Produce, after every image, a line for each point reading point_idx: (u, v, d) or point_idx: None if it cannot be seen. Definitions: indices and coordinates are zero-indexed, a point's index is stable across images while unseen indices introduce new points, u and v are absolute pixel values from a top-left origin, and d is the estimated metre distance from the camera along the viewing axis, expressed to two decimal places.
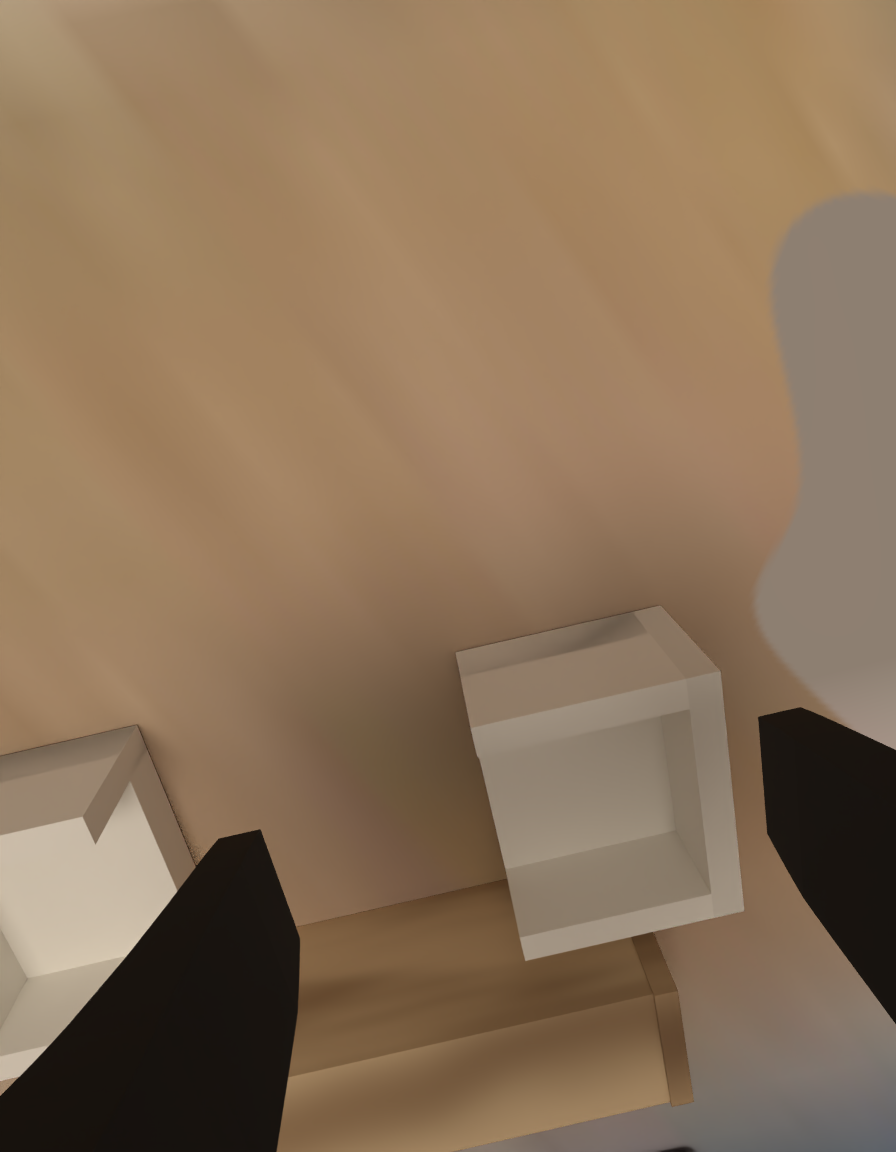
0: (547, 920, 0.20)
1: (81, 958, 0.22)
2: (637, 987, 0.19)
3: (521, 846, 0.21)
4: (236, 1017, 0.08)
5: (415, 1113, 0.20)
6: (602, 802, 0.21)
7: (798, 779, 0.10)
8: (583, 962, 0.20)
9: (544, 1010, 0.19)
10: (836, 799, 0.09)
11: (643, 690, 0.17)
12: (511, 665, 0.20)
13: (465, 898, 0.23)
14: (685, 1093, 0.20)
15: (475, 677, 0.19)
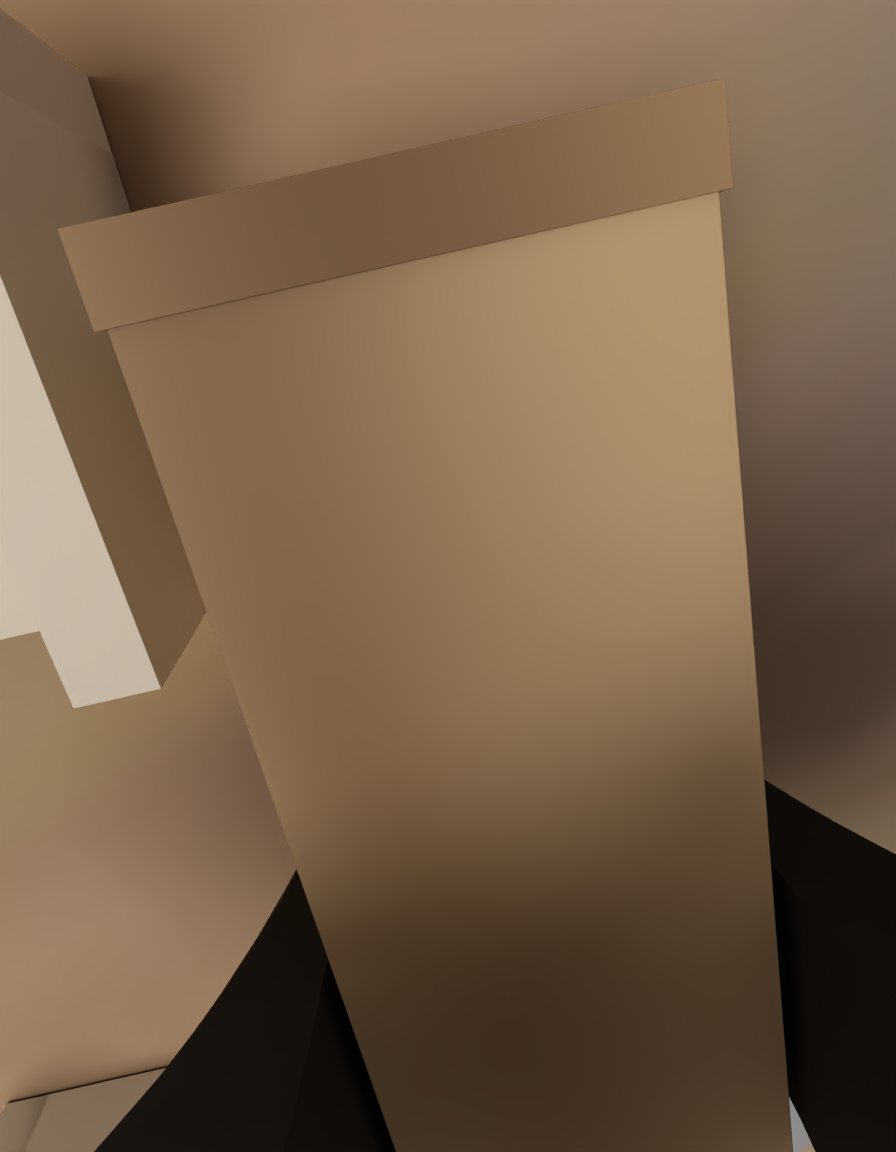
0: (55, 613, 0.07)
1: None
2: (137, 374, 0.05)
3: None
4: None
5: (597, 1003, 0.07)
6: None
7: None
8: None
9: (243, 684, 0.06)
10: None
11: None
12: None
13: None
14: (666, 128, 0.05)
15: None
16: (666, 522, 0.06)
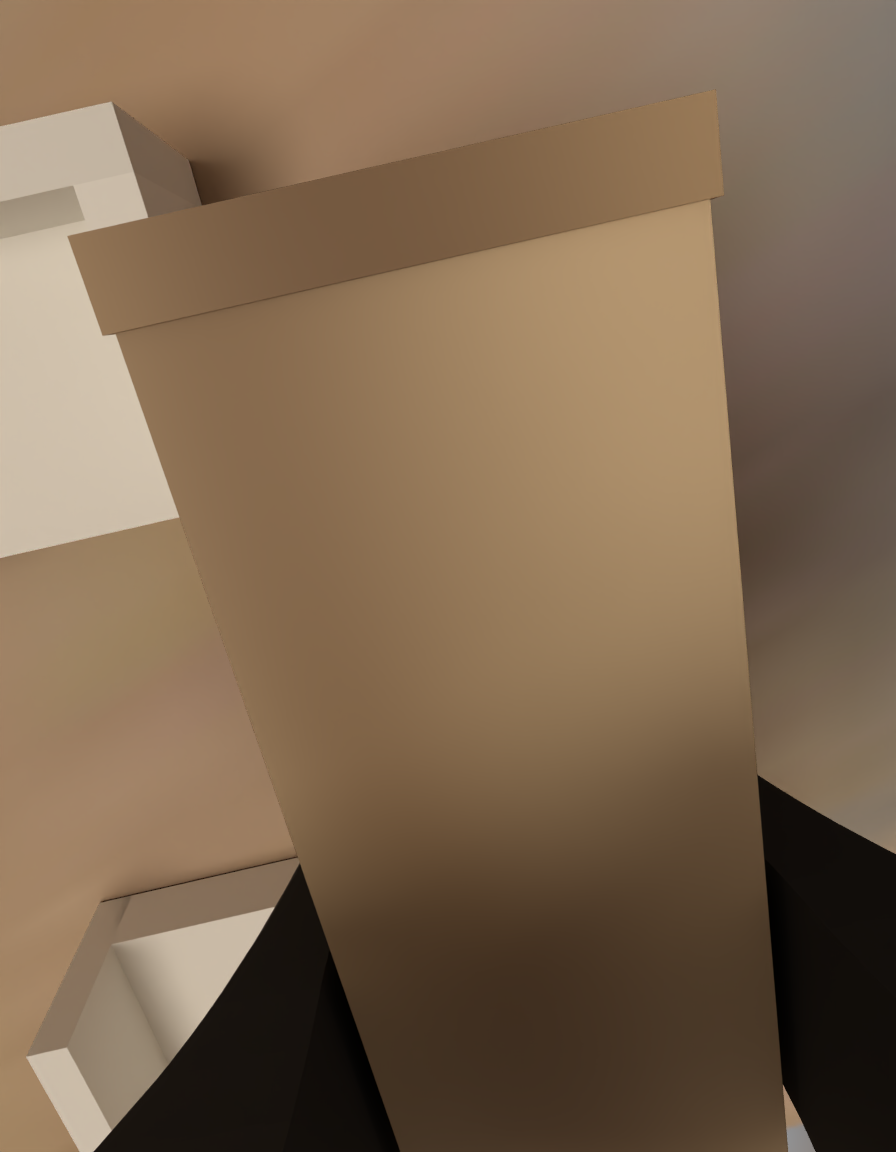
0: None
1: None
2: (143, 377, 0.05)
3: None
4: None
5: (593, 993, 0.07)
6: (84, 353, 0.13)
7: None
8: None
9: (246, 681, 0.06)
10: None
11: None
12: None
13: None
14: (658, 138, 0.05)
15: None
16: (660, 521, 0.06)
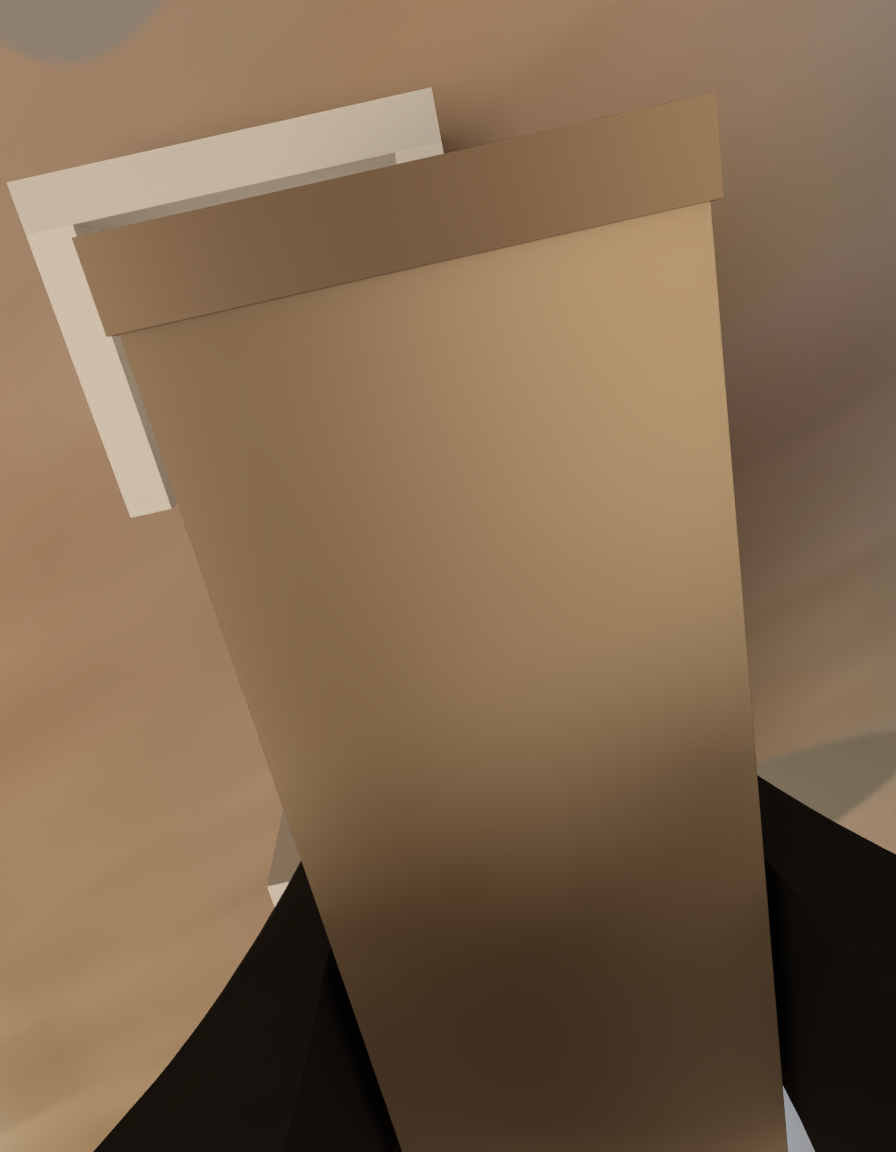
0: None
1: None
2: (146, 378, 0.05)
3: None
4: None
5: (594, 991, 0.07)
6: None
7: None
8: None
9: (247, 679, 0.06)
10: None
11: (55, 295, 0.13)
12: None
13: None
14: (659, 138, 0.05)
15: None
16: (660, 521, 0.06)
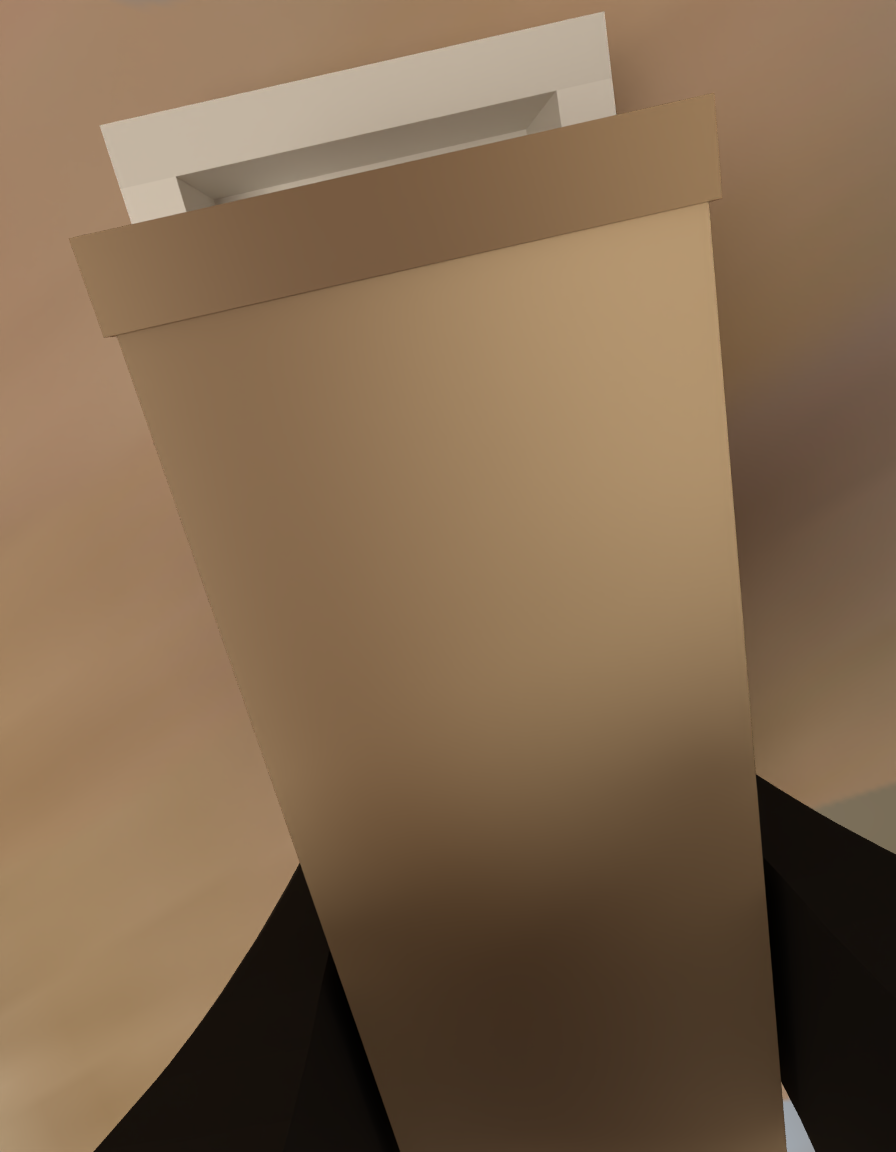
0: None
1: None
2: (145, 379, 0.05)
3: None
4: None
5: (593, 993, 0.07)
6: None
7: None
8: None
9: (245, 680, 0.06)
10: None
11: None
12: None
13: None
14: (658, 140, 0.05)
15: None
16: (659, 522, 0.06)
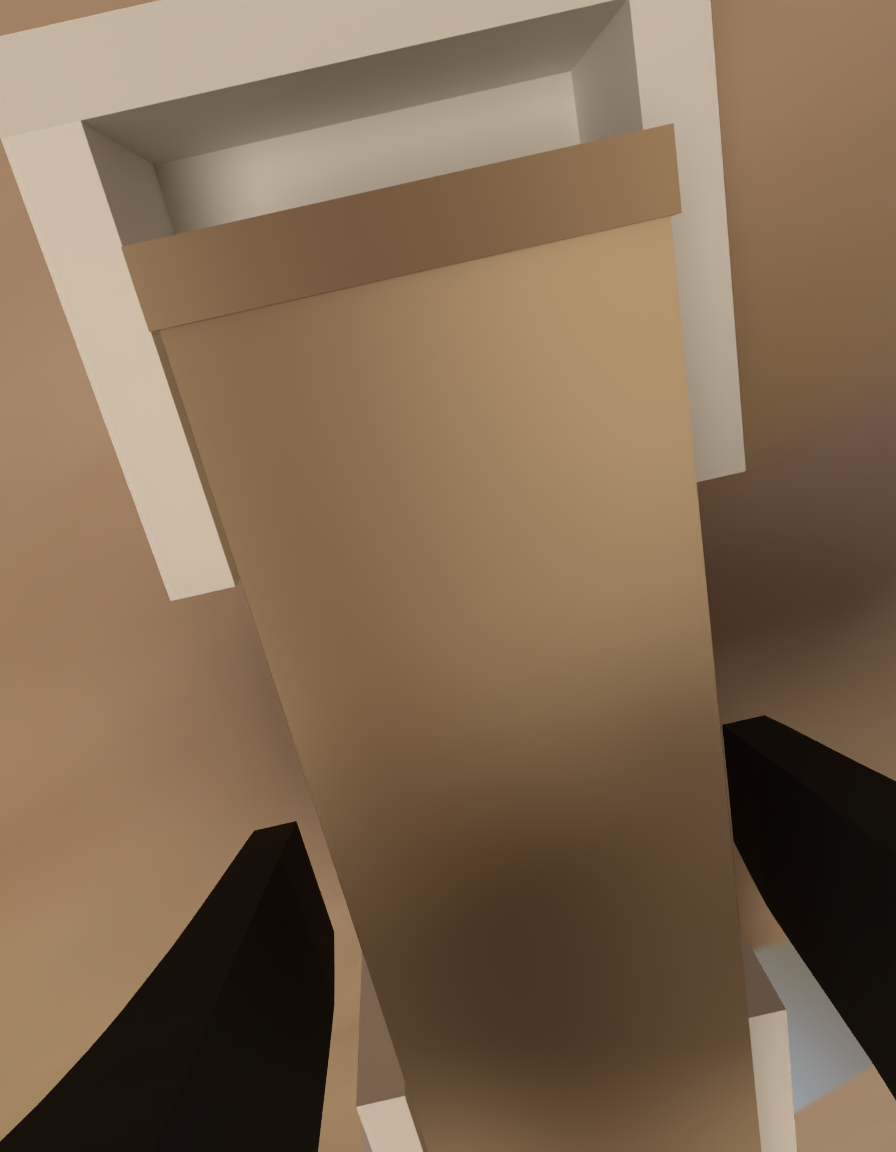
0: None
1: None
2: (181, 368, 0.06)
3: None
4: (280, 1007, 0.08)
5: (575, 925, 0.08)
6: None
7: (759, 788, 0.10)
8: None
9: (267, 635, 0.07)
10: (793, 809, 0.09)
11: (51, 243, 0.08)
12: None
13: None
14: (625, 163, 0.06)
15: None
16: (630, 495, 0.07)
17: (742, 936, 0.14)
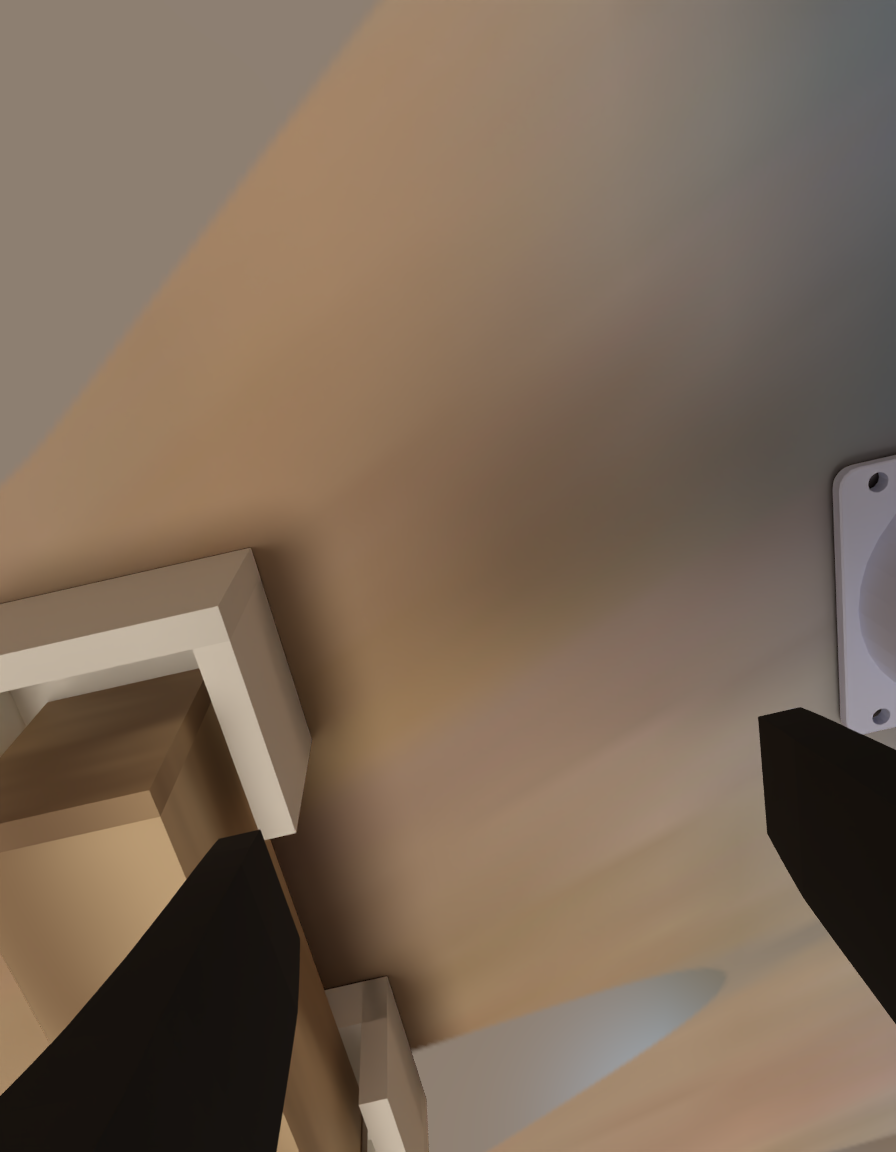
0: (254, 803, 0.18)
1: None
2: None
3: None
4: (236, 1017, 0.08)
5: None
6: None
7: (798, 779, 0.10)
8: None
9: (14, 959, 0.15)
10: (836, 799, 0.09)
11: None
12: None
13: None
14: (132, 803, 0.14)
15: None
16: None
17: (386, 1047, 0.22)
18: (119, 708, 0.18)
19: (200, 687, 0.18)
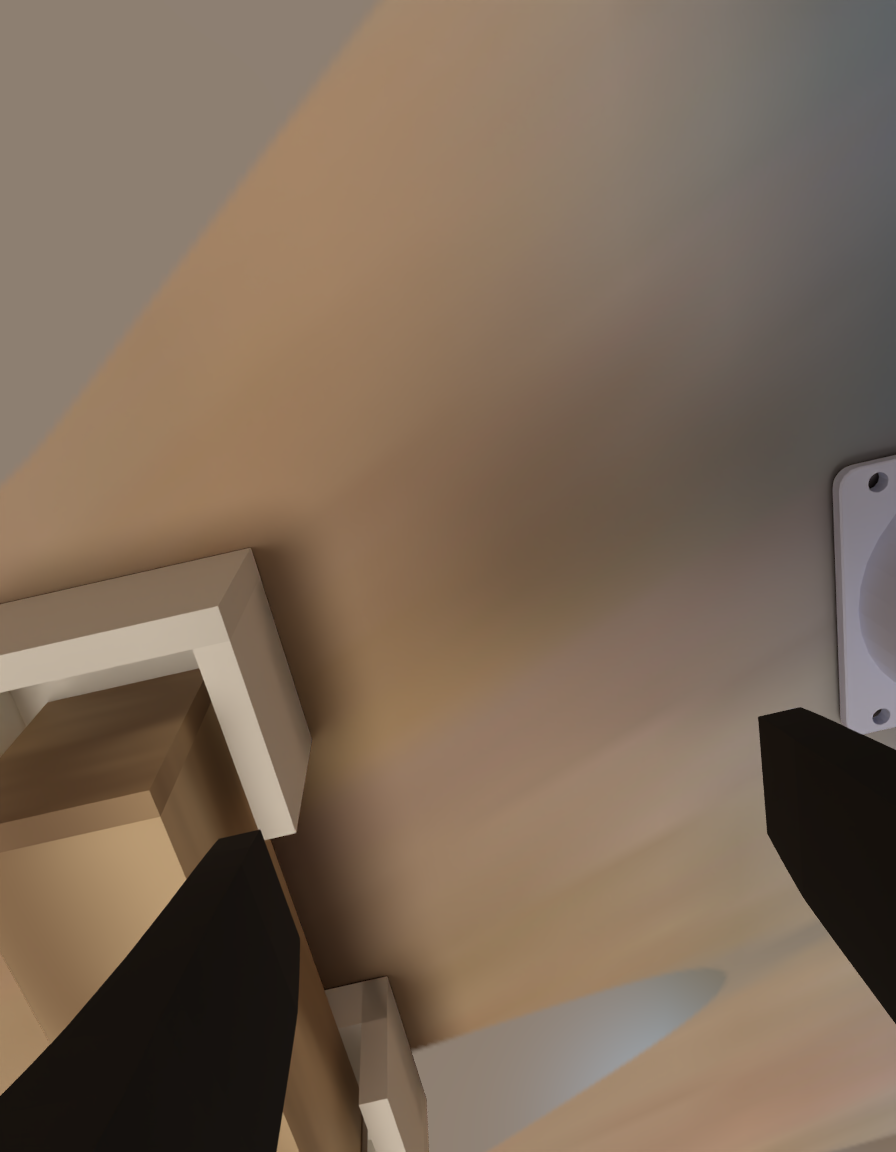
0: (254, 803, 0.18)
1: None
2: None
3: None
4: (236, 1017, 0.08)
5: None
6: None
7: (798, 779, 0.10)
8: None
9: (14, 959, 0.15)
10: (836, 799, 0.09)
11: None
12: None
13: None
14: (132, 803, 0.14)
15: None
16: None
17: (386, 1047, 0.22)
18: (119, 708, 0.18)
19: (200, 687, 0.18)
